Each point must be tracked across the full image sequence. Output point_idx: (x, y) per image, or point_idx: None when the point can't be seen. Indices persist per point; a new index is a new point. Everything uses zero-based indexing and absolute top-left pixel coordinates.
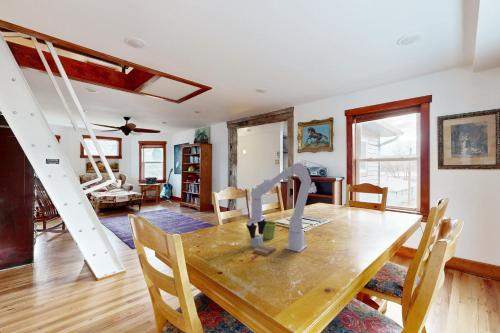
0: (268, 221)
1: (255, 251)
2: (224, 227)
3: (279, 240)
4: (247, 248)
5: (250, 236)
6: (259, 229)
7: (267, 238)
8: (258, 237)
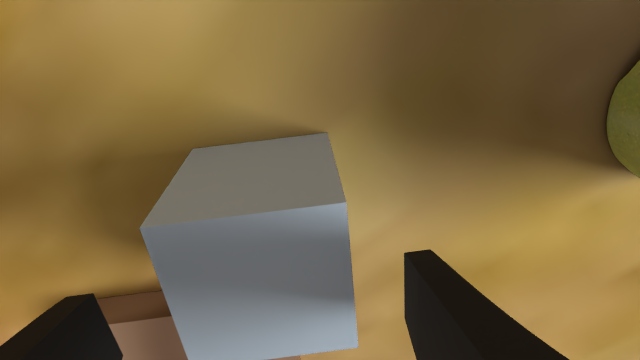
0: None
1: None
2: None
3: (622, 268)
4: (94, 169)
5: (43, 316)
6: (451, 352)
7: (613, 138)
8: (253, 333)
